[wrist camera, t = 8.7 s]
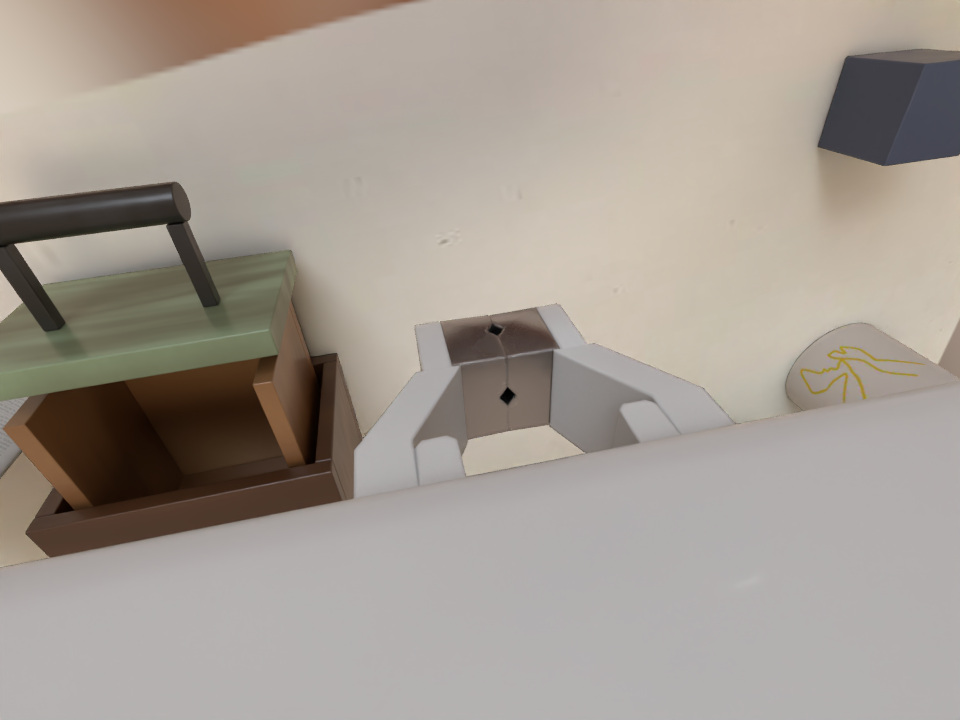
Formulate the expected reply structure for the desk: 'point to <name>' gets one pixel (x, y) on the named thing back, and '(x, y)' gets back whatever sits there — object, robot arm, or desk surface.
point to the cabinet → (218, 488)
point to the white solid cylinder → (858, 368)
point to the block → (896, 107)
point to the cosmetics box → (3, 448)
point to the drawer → (152, 357)
